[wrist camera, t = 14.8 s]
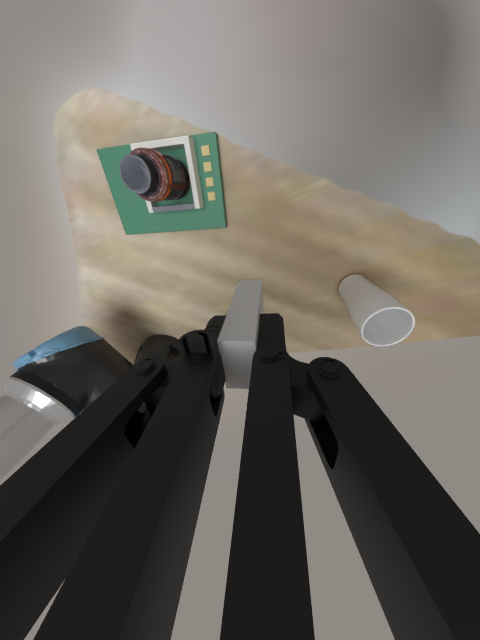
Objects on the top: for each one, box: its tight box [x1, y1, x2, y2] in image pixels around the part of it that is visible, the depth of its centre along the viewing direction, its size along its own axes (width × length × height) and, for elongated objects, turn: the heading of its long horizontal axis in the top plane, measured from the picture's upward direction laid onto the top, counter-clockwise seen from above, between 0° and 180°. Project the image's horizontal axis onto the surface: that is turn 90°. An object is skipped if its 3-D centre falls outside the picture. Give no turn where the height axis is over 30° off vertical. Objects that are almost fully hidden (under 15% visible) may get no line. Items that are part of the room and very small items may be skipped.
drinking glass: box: [338, 274, 415, 346], centre depth 34 cm, size 7×7×15 cm
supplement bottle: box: [119, 148, 189, 202], centre depth 29 cm, size 6×6×11 cm
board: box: [97, 132, 227, 235], centre depth 35 cm, size 20×13×4 cm, turn 95°
